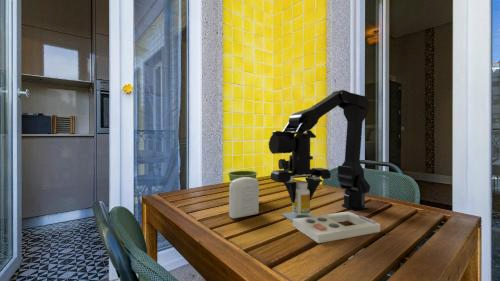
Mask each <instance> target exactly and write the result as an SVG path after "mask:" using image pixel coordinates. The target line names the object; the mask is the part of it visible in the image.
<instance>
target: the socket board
mask: <svg viewBox="0 0 500 281" xmlns="http://www.w3.org/2000/svg"><path fill="white" fill-rule="evenodd" d="M344 222H349V223H351V225H343V224H342V223H344ZM292 227H294V228H295V227H296V228H295V229H297V230H298V231H299V232H301V233H303V234H304V235H305V236H307V237H309V238H310V239H311V240H313V241H315V243H318V244H321V243H322V244H323V243H326V242H327V243H328V242H332V241H337V240H342V239H343V240H344V239H349V238H354V237H358V236H365V235H370V234H371V235H372V234H374V233H375V234H376V233H380V232H381V224H380V223H378V222H376V221H375V220H373V219H371V218H367V217H365V216H364V215H358V214H355V213H353V212H352V211H343V212H336V213H335V212H334V213H327V214H321V215H314V216H312V217H305V218H297V219H293V222H292Z"/></svg>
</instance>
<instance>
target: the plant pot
mask: <svg viewBox="0 0 500 281" xmlns="http://www.w3.org/2000/svg"><path fill="white" fill-rule="evenodd" d="M227 175H228V177H229V181H230V182H231V181H233V180H235V179H238V178H242V177H250V178H254V179H257V175H258V172H257V171H254V170H236V171H235V170H233V171H230V172H228V173H227Z"/></svg>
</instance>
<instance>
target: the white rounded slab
mask: <svg viewBox="0 0 500 281" xmlns="http://www.w3.org/2000/svg"><path fill="white" fill-rule="evenodd" d="M259 184H260V183H259V180H258V179H257V178H256V179H254V178H250V177H242V178H238V179H235V180H233V181H230V182H229V185H228V192H229V194H228V216H229V218H231V219H238V218H243V217H248V216H253V215H258V214H259V211H260V210H259V209H260V208H259V207H260V205H259V203H260V202H259V198H260V197H259V196H260V195H259V193H260V192H259V190H260V186H259Z"/></svg>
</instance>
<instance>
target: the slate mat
mask: <svg viewBox="0 0 500 281" xmlns="http://www.w3.org/2000/svg"><path fill="white" fill-rule="evenodd" d="M280 214H281V216H282V215H283V216H282V217H284V218H285V217H286V218H285V219H287V220H288V219H289V221H290V222H292V223H293V219H297V218H305V217H312V216H315V215H314V214H312V213H309V214H308V215H296V214H294V213H293V211H291V212H285V213H284V212H283V213H282V212H281V213H280Z"/></svg>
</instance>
